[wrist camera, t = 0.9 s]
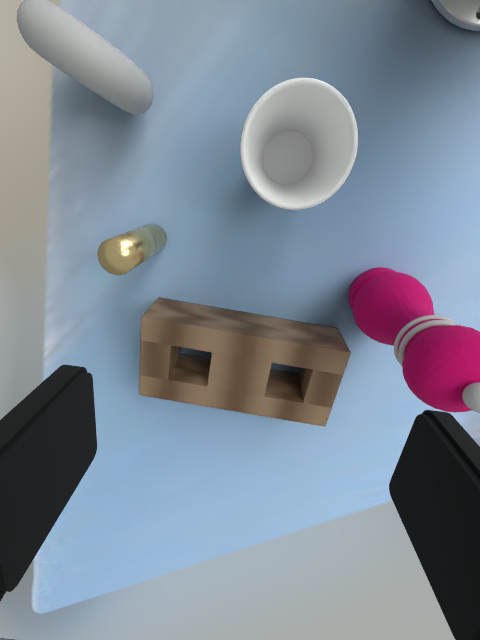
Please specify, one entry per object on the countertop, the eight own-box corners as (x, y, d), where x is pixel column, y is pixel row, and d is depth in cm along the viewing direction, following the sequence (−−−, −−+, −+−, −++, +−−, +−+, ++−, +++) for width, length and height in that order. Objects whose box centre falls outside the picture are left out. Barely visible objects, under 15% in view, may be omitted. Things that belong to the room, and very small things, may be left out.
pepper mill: (380, 332, 38) (488, 471, 20) (331, 304, 37) (396, 422, 19) (423, 283, 36) (592, 390, 17) (371, 250, 35) (492, 328, 16)
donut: (173, 94, 30) (134, 57, 21) (157, 130, 31) (114, 109, 22) (74, 25, 28) (-14, -48, 19) (62, 66, 30) (-27, 15, 21)
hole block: (154, 367, 42) (138, 394, 37) (158, 297, 38) (141, 316, 33) (317, 394, 43) (325, 426, 37) (338, 328, 39) (350, 352, 33)
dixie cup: (287, 217, 34) (297, 233, 24) (231, 162, 32) (216, 154, 22) (345, 154, 31) (384, 141, 21) (286, 90, 29) (299, 44, 19)
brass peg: (140, 221, 35) (97, 236, 26) (167, 226, 35) (133, 242, 26) (139, 248, 36) (98, 271, 27) (165, 253, 36) (132, 277, 27)
